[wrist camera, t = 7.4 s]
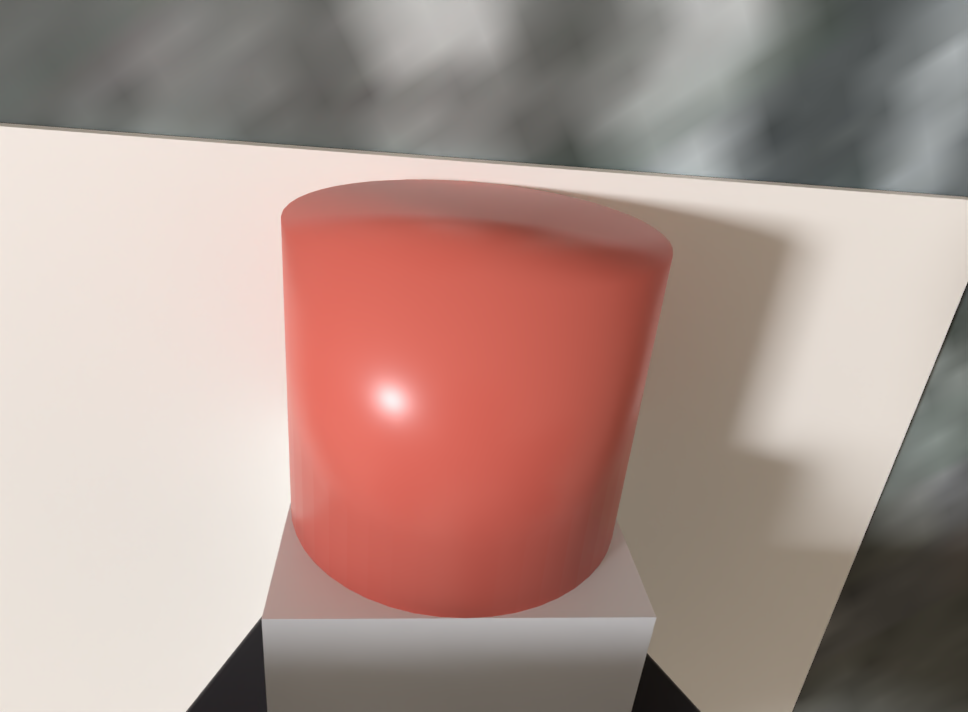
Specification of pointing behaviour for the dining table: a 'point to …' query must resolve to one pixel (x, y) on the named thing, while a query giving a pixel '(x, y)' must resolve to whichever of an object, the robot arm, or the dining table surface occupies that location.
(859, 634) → the dining table surface
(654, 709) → the robot arm
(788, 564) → the paper
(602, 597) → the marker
